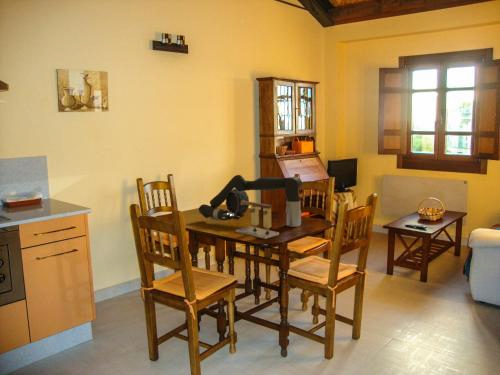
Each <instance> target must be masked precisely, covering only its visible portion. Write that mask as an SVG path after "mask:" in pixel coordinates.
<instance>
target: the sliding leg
mask: <svg viewBox="0 0 500 375" xmlns="http://www.w3.org/2000/svg"><path fill="white" fill-rule="evenodd" d="M259 208H260V207H256V206H250V209H249V210H250V211H249V212H250V224H251V225H250V226H253V227H254V231H256V228H257V226H258V225H260V215H259V214H260V212H259V211H260V210H259Z"/></svg>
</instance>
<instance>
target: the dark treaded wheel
mask: <svg viewBox="0 0 500 375" xmlns="http://www.w3.org/2000/svg"><path fill="white" fill-rule="evenodd" d="M243 200H245V201H248V202H250V198H249V195H248V194H247V191H238V190H236V189H235V188H233V189H232V190H231V191H230V192H229V194H228V196H227V198H226V199H225V206H226V210H227V211H228V212H229V213H232V214H234V213H236V214H237V216H239V215H240V216H241V215H242V214H243V215H244V214H245V213H246V212H247V211H248V210H249V206H250V205H244V204H243V205H241V201H243Z"/></svg>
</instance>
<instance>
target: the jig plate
mask: <svg viewBox="0 0 500 375" xmlns="http://www.w3.org/2000/svg"><path fill="white" fill-rule="evenodd" d="M235 232H236V233H239V234H243V235H247V236H252V237H256V238H260V239H265V240H266V239H269V238H273V237H275V236H279V235H280V232H278V231H274V230H270V229H269V233H266V228H260V227H256V231H254V226H252V225H249V226H245V227H242V228H236V229H235Z"/></svg>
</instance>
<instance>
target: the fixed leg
mask: <svg viewBox="0 0 500 375" xmlns="http://www.w3.org/2000/svg"><path fill="white" fill-rule="evenodd" d="M262 215H263V217H262V218H263V222H262V223H263V228H264V229H265V230H266V233H269V230H270V228H272V208H270V209H268V208H263V209H262Z"/></svg>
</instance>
